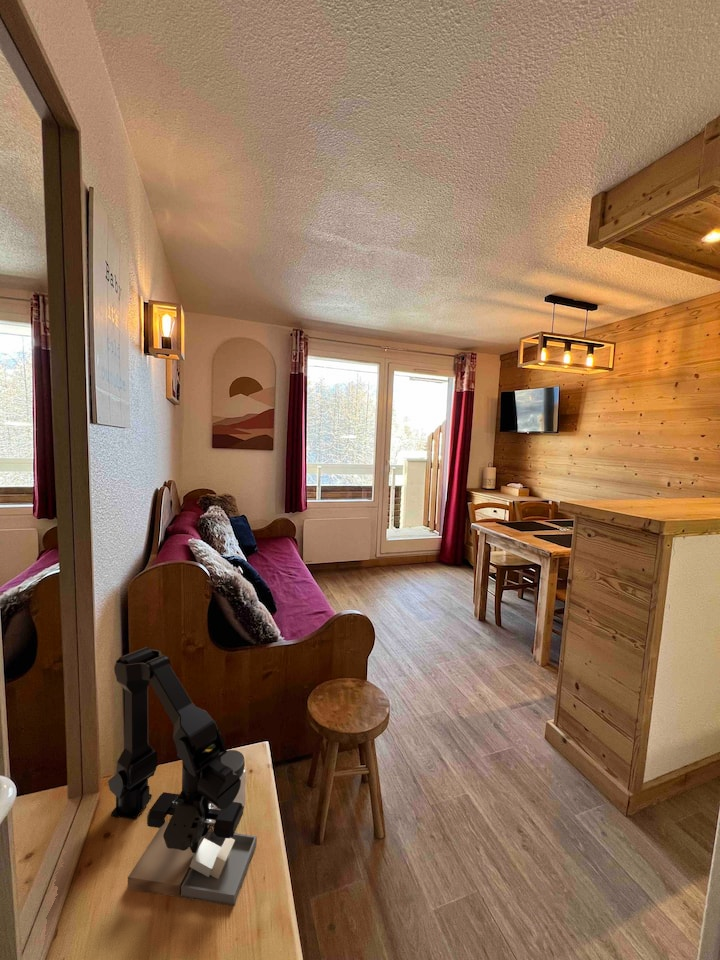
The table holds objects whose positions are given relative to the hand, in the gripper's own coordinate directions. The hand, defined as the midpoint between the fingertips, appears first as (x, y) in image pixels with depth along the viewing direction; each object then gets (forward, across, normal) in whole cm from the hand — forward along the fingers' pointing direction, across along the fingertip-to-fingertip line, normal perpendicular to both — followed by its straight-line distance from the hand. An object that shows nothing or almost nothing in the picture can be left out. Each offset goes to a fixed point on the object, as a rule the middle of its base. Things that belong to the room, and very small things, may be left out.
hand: (195, 851), depth 83 cm
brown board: (+3, -5, 0) cm, 6 cm away
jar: (+4, +1, +14) cm, 14 cm away
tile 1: (+2, +2, 0) cm, 3 cm away
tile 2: (0, +5, 0) cm, 5 cm away
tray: (+3, +6, 0) cm, 7 cm away
